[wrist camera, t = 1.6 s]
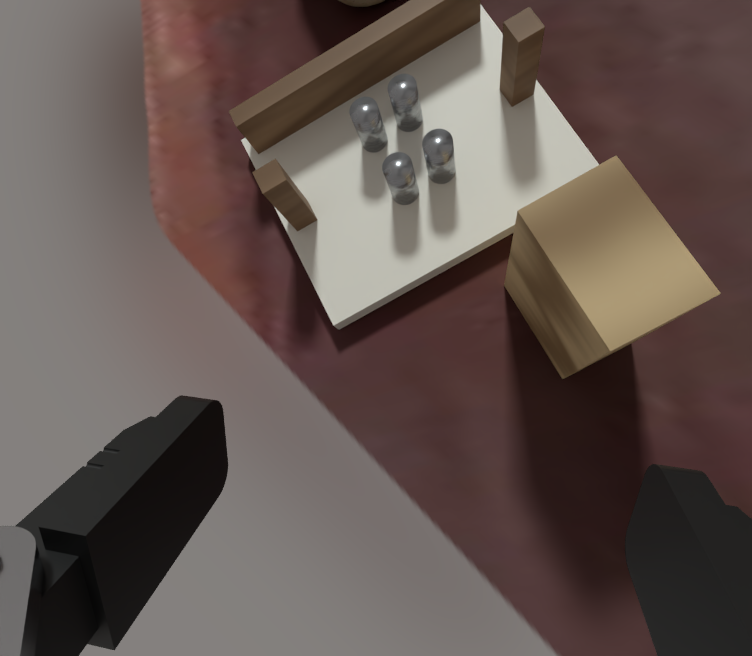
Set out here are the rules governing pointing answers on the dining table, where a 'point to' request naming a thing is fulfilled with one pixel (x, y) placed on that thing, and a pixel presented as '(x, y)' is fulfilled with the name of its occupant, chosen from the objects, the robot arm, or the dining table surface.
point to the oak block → (599, 268)
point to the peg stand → (423, 177)
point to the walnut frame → (373, 80)
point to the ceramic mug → (361, 2)
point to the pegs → (408, 120)
